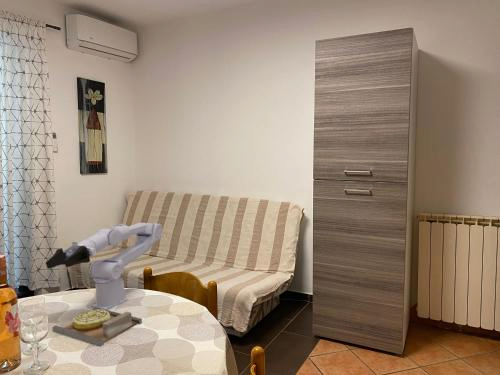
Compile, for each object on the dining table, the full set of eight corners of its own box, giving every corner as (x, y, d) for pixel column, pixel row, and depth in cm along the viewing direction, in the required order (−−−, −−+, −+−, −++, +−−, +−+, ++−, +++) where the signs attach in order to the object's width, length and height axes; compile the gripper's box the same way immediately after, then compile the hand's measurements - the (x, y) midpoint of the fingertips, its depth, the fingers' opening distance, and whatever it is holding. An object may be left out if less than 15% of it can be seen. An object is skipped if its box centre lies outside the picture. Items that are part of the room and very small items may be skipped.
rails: (96, 311, 126) (96, 307, 126) (142, 323, 117) (141, 318, 116) (52, 331, 112) (52, 327, 112) (100, 347, 102) (100, 342, 102)
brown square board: (61, 330, 113) (60, 315, 112) (97, 313, 124) (96, 300, 124) (102, 343, 104) (101, 327, 104) (136, 324, 116) (136, 310, 115)
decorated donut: (117, 323, 117) (116, 311, 116) (84, 337, 108) (83, 324, 108) (99, 315, 123) (98, 304, 123) (67, 327, 115) (66, 316, 114)
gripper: (69, 237, 126) (35, 254, 113) (102, 233, 120) (70, 250, 108) (75, 256, 127) (42, 275, 115) (108, 253, 122) (77, 272, 109)
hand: (56, 264), depth 111 cm, fingers open, 7 cm apart
